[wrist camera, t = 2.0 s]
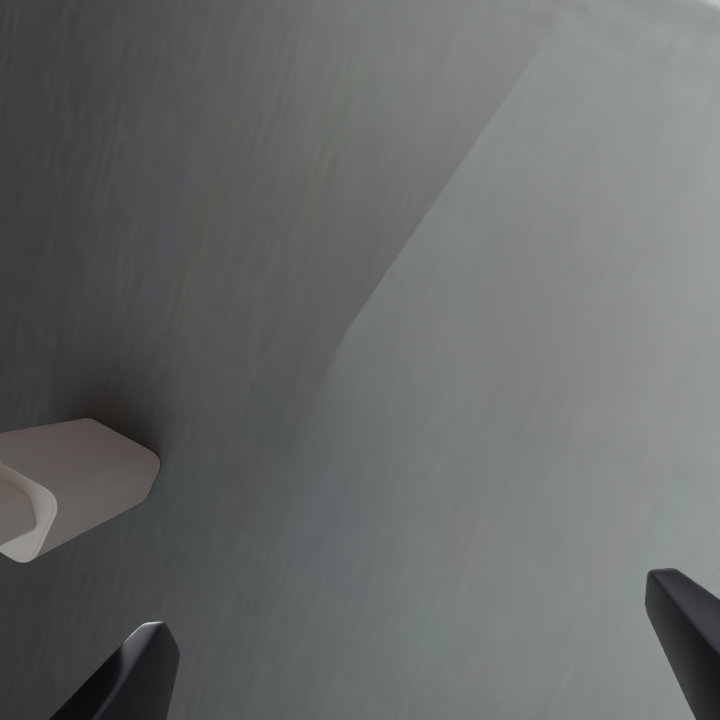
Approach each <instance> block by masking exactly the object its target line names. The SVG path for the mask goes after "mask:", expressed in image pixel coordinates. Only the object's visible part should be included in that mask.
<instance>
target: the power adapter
mask: <svg viewBox="0 0 720 720" xmlns="http://www.w3.org/2000/svg"><path fill="white" fill-rule="evenodd" d="M159 470H160V460H159V458H158V456H157V455H156V454H155V453H154V452H152V451H151V450H149V449H147V448H145V447H143V446H141V445H140V444H138V443H136V442H134V441H132V440H130V439H129V438H127V437H125V436H123V435H121V434H119V433H117V432H116V431H114V430H112V429H110V428H108V427H106V426H105V425H103V424H101V423H99V422H97V421H95V420H93V419H91V418H84V419H78V420H72V421H67V422H61V423H55V424H49V425H43V426H38V427H32V428H26V429H20V430H15V431H9V432H3V433H0V552H1V553H3V554H5V555H6V556H8V557H10V558H11V559H13V560H16V561H18V562H23V563H24V562H29V561H31V560H33V559H34V558H36V557H38V556H40V555H42V554H44V553H46V552H48V551H50V550H52V549H54V548H55V547H57V546H59V545H61V544H63V543H65V542H67V541H69V540H71V539H73V538H74V537H76V536H78V535H80V534H82V533H84V532H86V531H88V530H90V529H92V528H94V527H95V526H97V525H99V524H101V523H103V522H105V521H107V520H109V519H111V518H113V517H114V516H116V515H118V514H120V513H122V512H124V511H126V510H128V509H130V508H132V507H134V506H135V505H137V504H139V503H141V502H143V501H144V500H145V499H146V497H147V496H148V493H149V491H150V489H151V487H152V485H153V483H154V481H155V479H156V476H157V474H158V472H159Z"/></svg>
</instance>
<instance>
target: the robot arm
mask: <svg viewBox="0 0 720 720" xmlns="http://www.w3.org/2000/svg"><path fill="white" fill-rule="evenodd" d="M645 606H646V611H647V614H648V616H649V619H650V621H651V623H652V625H653V628H654V630H655V632H656V634H657V636H658V639H659V641H660V643H661V645H662V647H663V649H664V652H665V654H666V656H667V658H668V660H669V663H670V665H671V667H672V669H673V671H674V674H675V676H676V678H677V680H678V682H679V684H680V687H681V689H682V691H683V693H684V695H685V698H686V700H687V702H688V704H689V706H690V708H691V710H692V712H693V714H694V716H695V718H696V720H720V599H718V598H717V597H715V596H714V595H713V594H711V593H710V592H708V591H707V590H705V589H704V588H703V587H701V586H700V585H698V584H697V583H696V582H694V581H693V580H691V579H690V578H688V577H687V576H686V575H684V574H683V573H681V572H680V571H678V570H676V569H673V568H665V569H655V570H650V571H649V573H648V575H647V583H646V595H645ZM179 657H180V653H179V648H178V645H177V643H176V641H175V640H174V638H173V636H172V634H171V632H170V630H169V628H168V626H167V625H166V624H165V623H164V622H152V623H145V624H143V625H141V626H140V627H139V628H137V629H136V630H135V631H134V633H133V634H132V635H131V636H130V637H129V638H128V639H127V640H126V641H125V642H124V643H123V644H122V645H121V646H120V647H119V648H118V649H117V650H116V651H115V652H114V653H113V654H112V655H111V656H110V657H109V658H108V659H107V660H106V661H105V662H104V663H103V664H102V665H101V666H100V667H99V668H98V669H97V671H96V672H95V673H94V674H93V675H92V676H91V677H90V678H89V679H88V680H87V681H86V682H85V683H84V684H83V685H82V686H81V687H80V688H79V689H78V690H77V691H76V692H75V693H74V694H73V695H72V696H71V697H70V698H69V699H68V700H67V701H66V702H65V703H64V704H63V705H62V706H61V707H60V709H59V710H58V711H57V712H56V713H55V714H54V715H53V716H52V717H51V718H50V719H49V720H166V719H167V714H168V710H169V705H170V701H171V696H172V692H173V687H174V683H175V678H176V673H177V669H178V664H179Z"/></svg>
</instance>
